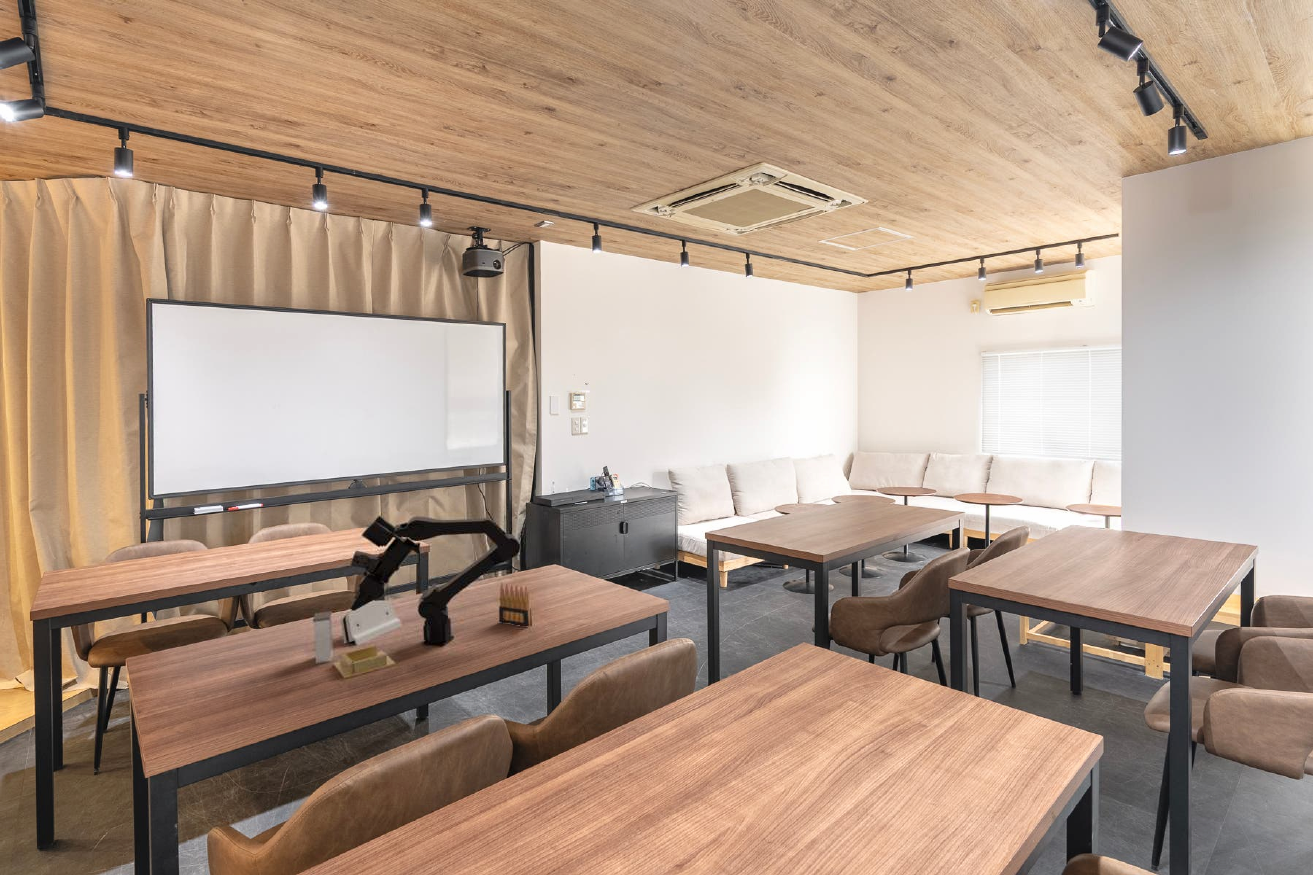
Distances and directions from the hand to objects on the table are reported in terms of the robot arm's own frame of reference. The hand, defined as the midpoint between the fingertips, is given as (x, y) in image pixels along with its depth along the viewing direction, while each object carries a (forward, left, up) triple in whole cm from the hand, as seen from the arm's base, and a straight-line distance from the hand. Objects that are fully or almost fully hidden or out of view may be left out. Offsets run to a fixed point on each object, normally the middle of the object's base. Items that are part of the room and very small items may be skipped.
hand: (353, 604), depth 171 cm
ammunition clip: (-34, -26, -13) cm, 45 cm away
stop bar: (+6, +5, -13) cm, 15 cm away
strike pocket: (-7, +7, -13) cm, 16 cm away
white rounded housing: (+5, -13, -13) cm, 20 cm away
